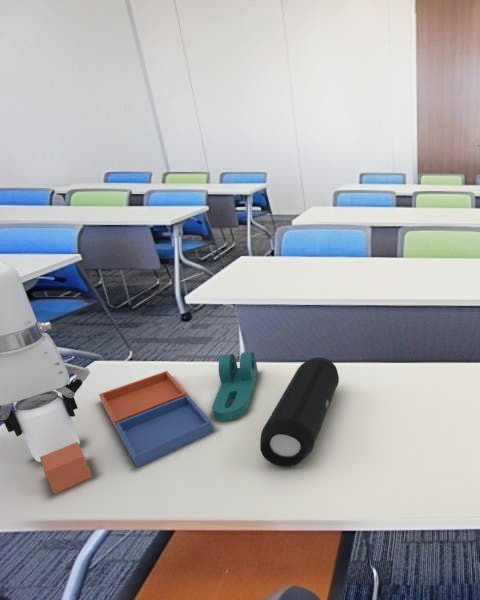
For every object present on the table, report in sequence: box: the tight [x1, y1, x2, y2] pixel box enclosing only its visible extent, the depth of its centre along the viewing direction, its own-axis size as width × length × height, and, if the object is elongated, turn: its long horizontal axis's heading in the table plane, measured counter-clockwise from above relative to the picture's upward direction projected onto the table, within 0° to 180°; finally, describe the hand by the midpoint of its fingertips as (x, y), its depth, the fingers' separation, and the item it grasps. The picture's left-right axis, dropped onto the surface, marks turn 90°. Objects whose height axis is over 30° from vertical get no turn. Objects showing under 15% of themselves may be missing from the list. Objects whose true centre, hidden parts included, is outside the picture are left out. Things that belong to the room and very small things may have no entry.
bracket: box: [211, 351, 259, 422], centre depth 92 cm, size 18×7×8 cm, turn 15°
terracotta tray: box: [98, 370, 188, 431], centre depth 90 cm, size 13×13×2 cm
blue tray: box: [115, 394, 214, 468], centre depth 82 cm, size 13×13×2 cm
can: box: [14, 390, 81, 463], centre depth 74 cm, size 6×6×12 cm
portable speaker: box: [259, 357, 340, 468], centre depth 84 cm, size 26×10×10 cm, turn 2°
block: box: [40, 442, 93, 495], centre depth 70 cm, size 5×5×5 cm
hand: (45, 421), depth 73 cm, fingers closed on can, 6 cm apart
